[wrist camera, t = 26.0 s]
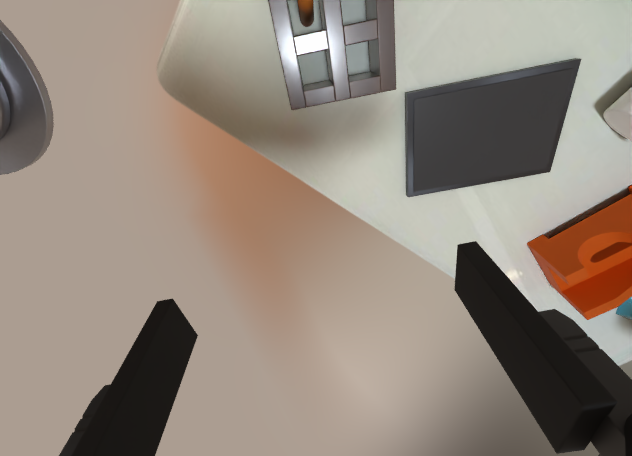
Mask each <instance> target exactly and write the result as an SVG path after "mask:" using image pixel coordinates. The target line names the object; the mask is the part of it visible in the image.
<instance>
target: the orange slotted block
mask: <svg viewBox="0 0 632 456" xmlns="http://www.w3.org/2000/svg"><path fill="white" fill-rule="evenodd" d="M628 188H629V192H630V195H628V196H626V197H624V198H623V199H621V200H619V201H617V202H615V203H613V204H612V205H610V206H608V207H606V208H604V209H603V210H601V211H599V212H597V213H595V214H593V215H592V216H590V217H588V218H586V219H584V220H582V221H581V222H579V223H577V224H575V225H573V226H572V227H570V228H568V229H566V230H564V231H562V232H561V233H559V234H557V235H555V236H553V237H551V238H550V239H548V238H547V237H546V236H544V235H541V236H539V237H537V238H535V239H534V240H532V241H530V242H528V243H527V245H528V246H529V248H530V250H531V252H532V253H533V255H534V257H535V259H536V260H537V262H538V264H539V266H540V267H541V269H542V271H543V273H544V274H545V276H546V278H547V280H548V281H549V283H550V285H552V286H553V287H554V288H555V289H556V290H557V291H558V292H559V293H560V294H561V295H562V296H563V297H564V298H565V299H566V300H567V301H568V302H569V303H570V304H571V305H572V306H573V307H574V308H575V309H576V310H577V311H578V312H579V313H580V314H581V315H583V316H584V317H585V318H586V319H587V320H589V319H591V318H593V317H596V316H598V315H600V314H602V313H605V312H607V311H609V310H612V309H614V308H616V307H618V306H620V305H621V304H622V303H624V302H625V301H626V300H628V299H629V298H630V297H631V296H632V185H631V186H629V187H628Z"/></svg>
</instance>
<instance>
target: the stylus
mask: <svg viewBox="0 0 632 456" xmlns="http://www.w3.org/2000/svg"><path fill="white" fill-rule="evenodd" d="M298 7H299V13H300V20H301V23H302V24H303V25H304V26H306V27H308V26H310V25H312V23H313V21H314V10H313V0H298Z"/></svg>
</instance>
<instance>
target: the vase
mask: <svg viewBox="0 0 632 456" xmlns="http://www.w3.org/2000/svg"><path fill="white" fill-rule="evenodd" d="M616 314H618V315H621V316H623V317H626V318H628V319H631V320H632V296H631V297H630V298H629V299H628V300H626V301H625V302H624V303H622V304H621V305H620V306H619V307H618V310H617V312H616Z"/></svg>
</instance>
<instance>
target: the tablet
mask: <svg viewBox="0 0 632 456" xmlns="http://www.w3.org/2000/svg"><path fill="white" fill-rule="evenodd" d="M580 61H581V59H571V60H566V61H561V62H556V63H551V64H546V65H541V66H536V67H531V68H526V69H521V70H516V71H511V72H506V73H501V74H496V75H491V76H486V77H481V78H476V79H471V80H466V81H461V82H456V83H451V84H446V85H441V86H436V87H431V88H426V89H421V90H416V91H411V92H406V93H405V126H406V195H407V197H412V196H417V195H423V194H429V193H434V192H440V191H446V190H451V189H457V188H462V187H468V186H474V185H479V184H485V183H490V182H496V181H502V180H507V179H513V178H519V177H524V176H530V175H535V174H541V173H547V172H550V170H551V167H552V163H553V159H554V156H555V152H556V149H557V145H558V141H559V138H560V134H561V130H562V127H563V123H564V119H565V116H566V112H567V109H568V105H569V101H570V98H571V94H572V90H573V87H574V83H575V80H576V76H577V72H578V69H579V65H580Z"/></svg>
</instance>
